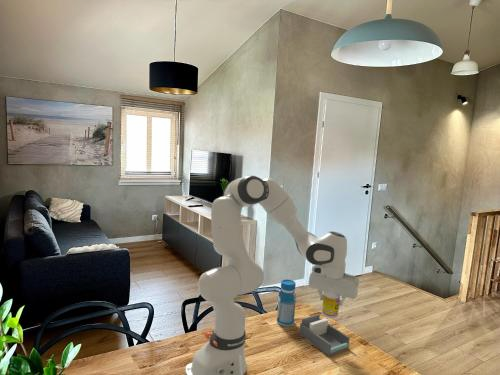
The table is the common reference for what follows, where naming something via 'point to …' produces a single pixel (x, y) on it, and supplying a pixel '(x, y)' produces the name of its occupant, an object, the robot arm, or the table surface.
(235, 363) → the robot arm
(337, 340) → the pusher lane
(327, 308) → the supplement bottle
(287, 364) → the table surface
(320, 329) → the plate
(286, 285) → the beverage bottle
